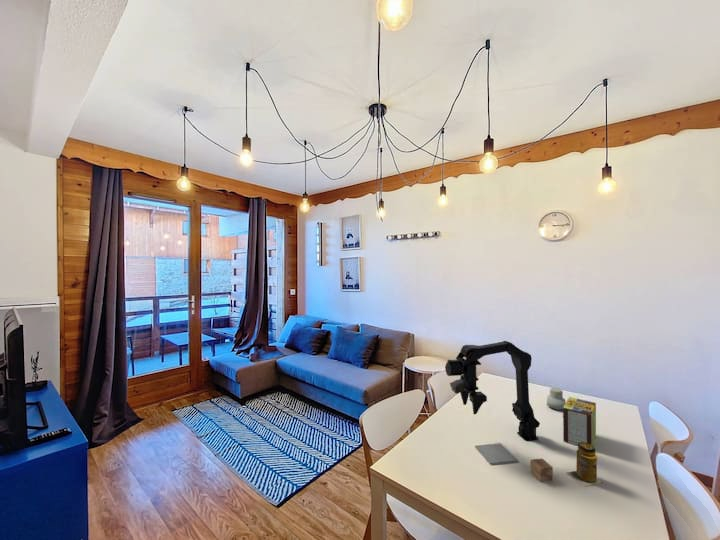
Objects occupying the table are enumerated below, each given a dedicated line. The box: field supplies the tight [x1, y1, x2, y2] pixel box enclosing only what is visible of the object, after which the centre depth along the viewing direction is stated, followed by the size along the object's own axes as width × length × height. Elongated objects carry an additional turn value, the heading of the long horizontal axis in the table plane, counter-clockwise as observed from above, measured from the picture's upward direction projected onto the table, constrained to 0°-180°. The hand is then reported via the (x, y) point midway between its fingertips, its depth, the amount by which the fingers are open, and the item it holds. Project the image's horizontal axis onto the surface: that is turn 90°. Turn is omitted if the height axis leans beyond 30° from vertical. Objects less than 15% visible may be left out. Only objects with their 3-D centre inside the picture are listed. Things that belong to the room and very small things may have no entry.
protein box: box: [562, 396, 597, 447], centre depth 138 cm, size 10×15×16 cm
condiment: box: [565, 442, 603, 487], centre depth 113 cm, size 7×8×12 cm
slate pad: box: [474, 442, 519, 466], centre depth 127 cm, size 12×12×1 cm
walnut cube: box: [530, 458, 554, 483], centre depth 114 cm, size 5×5×5 cm
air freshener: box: [546, 387, 566, 411], centre depth 169 cm, size 11×8×10 cm
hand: (469, 409), depth 136 cm, fingers open, 9 cm apart
